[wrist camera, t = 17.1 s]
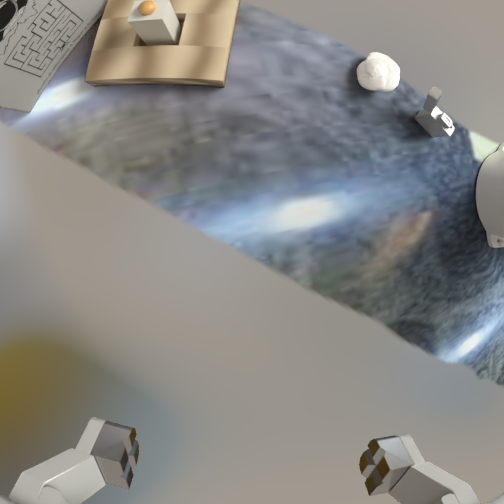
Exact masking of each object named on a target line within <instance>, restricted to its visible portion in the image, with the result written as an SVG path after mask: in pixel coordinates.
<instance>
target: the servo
mask: <svg viewBox="0 0 504 504" xmlns="http://www.w3.org/2000/svg"><path fill="white" fill-rule="evenodd" d="M128 23H129V24H130V25H131V26H132V27H133V29H134V30H135V31H136V32H137V34H138V35H139V36H140V37H141V39H142V40H143V41H144V42H145V44H146V45H147V46H160V45H177V42H178V38H179V34H180V30H181V26H180V23H179V21H178V19H177V17H176V14H175V12H174V10H173V8H172V5H171V3H170V1H169V0H139V1H134V4H133V7H132V10H131V13H130V16H129V19H128Z"/></svg>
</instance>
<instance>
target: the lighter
mask: <svg viewBox="0 0 504 504" xmlns="http://www.w3.org/2000/svg"><path fill="white" fill-rule="evenodd" d="M441 94H442V91H441V90H440V89H438V88H437V87H435V86H433V87H432V89H431V90H430V92H429V93H428V96H427V98H426V101H425V103H424V106H423V108H424V110H421V111H419V112H418V113H417V115H416V116H415V119H416V120H417V121H418V122H419V124H420V125H421V126H422V127H423V128H424V129H425V130H426V131H427V132H428V133H429V134H430V135H431V137H442V136H451V134H452V132H453V131H454V126H453V125H452V121H451V120H450V118H449V117H448V116H447V115H446V114H445V113H442V112H441V111H440V110H439V109H438V107H436V105H437V103H438V101H439V99H440V96H441Z"/></svg>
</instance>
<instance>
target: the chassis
mask: <svg viewBox="0 0 504 504" xmlns="http://www.w3.org/2000/svg"><path fill="white" fill-rule="evenodd" d="M134 1H139V0H108V2H107V5H106V8H105V10H104V13H103V16H102V19H101V22H100V25H99V29H98V32H97V35H96V39H95V42H94V46H93V49H92V53H91V57H90V61H89V65H88V69H87V73H86V78H85V82H87V83H89V84H91V85H93V86H108V85H130V84H177V85H199V86H214V87H224V86H225V80H226V74H227V68H228V62H229V56H230V50H231V45H232V39H233V34H234V29H235V24H236V18H237V13H238V8H239V3H240V0H169V1H170V3H171V5H172V8H173V10H174V12H175V14H176V17H177V19H178V21H179V23H180V26H181V30H180V34H179V38H178V42H177V45H160V46H147V45H146V44H145V42H144V41H143V40H142V39H141V37H140V36H139V35H138V34H137V32H136V31H135V30H134V29H133V27H132V26H131V25H130V24H129V23H128V19H129V16H130V13H131V10H132V7H133V4H134Z"/></svg>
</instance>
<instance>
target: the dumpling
mask: <svg viewBox="0 0 504 504" xmlns="http://www.w3.org/2000/svg"><path fill="white" fill-rule="evenodd" d="M399 73H400V68H399V66H398V65H397V64H396V63H395V62H394V61H393V60H392V59H390V57H389V56H386V55H384V54H381V53H378V52H373V53H370V54H369V55H368V56H367V60H366V61H363V62H362V63H360V64H359V66H358V68H357V77H358V82H359V83H360V85H361V86H362V87H364V88H365V89H368V90H372V91H378V90H380V91H382V92H389V91H392V90H393V89H395V88H396V87H397V85H398V84H399V79H400V75H399Z"/></svg>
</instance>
